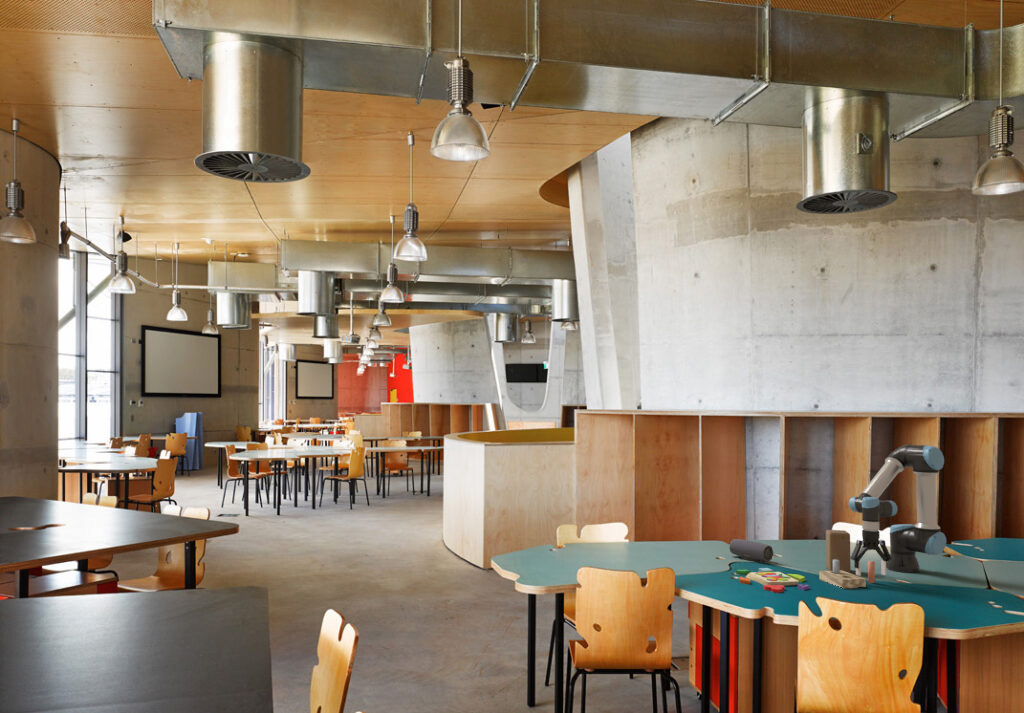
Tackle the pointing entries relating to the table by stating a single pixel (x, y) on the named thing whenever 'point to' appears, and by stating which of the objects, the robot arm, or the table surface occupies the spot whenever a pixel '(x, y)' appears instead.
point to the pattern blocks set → (772, 579)
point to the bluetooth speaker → (751, 550)
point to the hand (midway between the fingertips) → (871, 575)
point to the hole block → (842, 579)
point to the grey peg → (836, 567)
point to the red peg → (871, 572)
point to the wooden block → (838, 549)
